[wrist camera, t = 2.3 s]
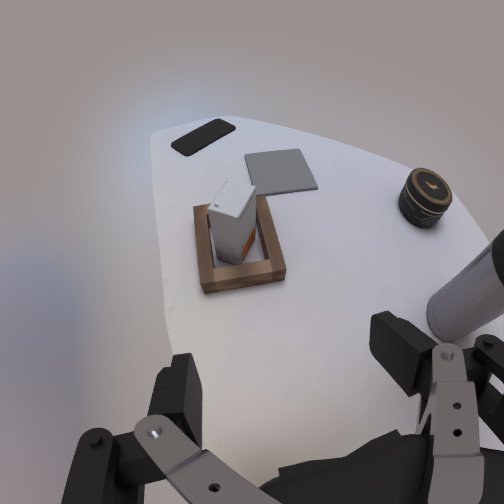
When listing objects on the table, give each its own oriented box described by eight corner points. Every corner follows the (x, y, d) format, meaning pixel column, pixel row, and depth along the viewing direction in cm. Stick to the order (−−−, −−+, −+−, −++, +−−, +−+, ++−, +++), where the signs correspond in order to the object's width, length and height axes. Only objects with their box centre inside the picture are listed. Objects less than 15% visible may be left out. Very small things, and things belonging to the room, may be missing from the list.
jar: (443, 230, 46) (461, 207, 40) (405, 230, 46) (422, 204, 40) (425, 193, 52) (439, 169, 45) (389, 191, 52) (402, 164, 45)
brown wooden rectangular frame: (264, 208, 49) (265, 195, 46) (284, 279, 42) (286, 269, 39) (196, 219, 48) (193, 206, 45) (204, 293, 41) (200, 283, 38)
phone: (237, 127, 62) (187, 155, 56) (237, 130, 62) (187, 158, 57) (217, 117, 65) (168, 143, 59) (218, 120, 65) (169, 146, 60)
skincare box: (241, 267, 43) (237, 219, 33) (216, 258, 44) (205, 208, 33) (256, 237, 46) (257, 185, 35) (233, 229, 47) (227, 176, 36)
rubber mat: (299, 150, 57) (299, 148, 57) (317, 189, 51) (318, 187, 51) (244, 156, 56) (244, 154, 56) (255, 197, 50) (255, 194, 50)
